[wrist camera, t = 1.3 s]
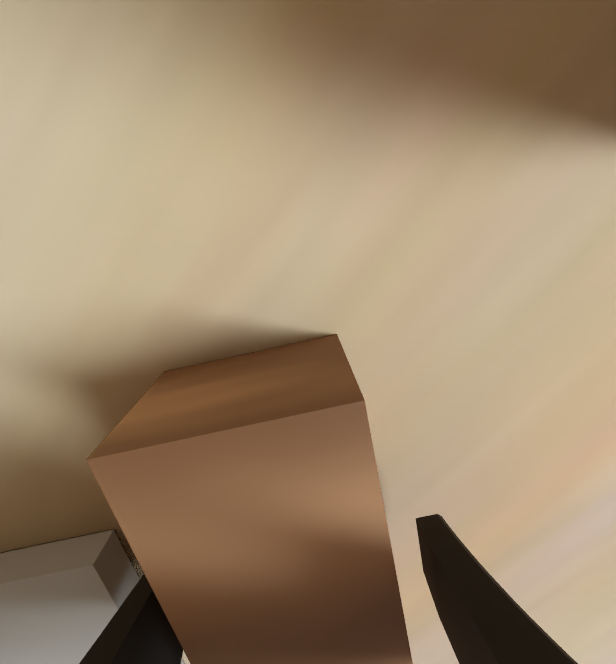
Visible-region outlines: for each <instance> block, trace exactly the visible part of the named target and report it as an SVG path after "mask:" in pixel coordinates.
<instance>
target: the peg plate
mask: <svg viewBox="0 0 616 664" xmlns="http://www.w3.org/2000/svg"><path fill="white" fill-rule="evenodd" d="M139 580H140V579H139V577H138V575H137V573H136V571H135V569H134V567H133V565H132V563H131V562H130V560H129V558H128V556H127V554H126V552H125V550H124V548H123V546H122V544H121V543H120V541H119V539H118V537H117V535H116V533H115V531H114V530H109V531H105V532H100V533H95V534H90V535H86V536H81V537H76V538H71V539H66V540H62V541H57V542H52V543H47V544H43V545H38V546H33V547H28V548H23V549H19V550H14V551H9V552H4V553H0V664H79V663H80V662H81V660H82V659H83V658H84V656H85V655H86V653H87V652H88V651H89V649H90V648H91V647H92V645H93V644H94V642H95V641H96V640H97V638H98V637H99V636H100V634H101V633H102V631H103V630H104V629H105V627H106V626H107V624H108V623H109V622H110V620H111V619H112V617H113V616H114V615H115V613H116V612H117V610H118V609H119V608H120V606H121V605H122V603H123V602H124V601H125V599H126V598H127V596H128V595H129V594H130V592H131V591H132V589H133V588H134V587H135V585H136V584H137V583H138V581H139ZM181 664H184V662H183V661H182V659H181Z"/></svg>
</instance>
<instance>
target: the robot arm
mask: <svg viewBox="0 0 616 664" xmlns="http://www.w3.org/2000/svg"><path fill="white" fill-rule="evenodd" d="M416 524H417V531H418V537H419V544H420V551H421V558H422V564H423V571H424V574H425V577H426V580H427V583H428V586H429V589H430V592H431V595H432V597H433V600H434V603H435V606H436V609H437V612H438V615H439V617H440V620H441V622H442V624H443V627H444V629H445V631H446V634H447V636H448V638H449V641H450V643H451V645H452V648H453V650H454V652H455V655H456V657H457V659H458V661H459V664H578V663H577V662H576V661H574V660H573V659H572V658H571V657H570V656H569V655H568V654H567V653H566V652H565V651H564V650H563V649H562V648H561V647H560V646H559V645H558V644H557V643H556V642H555V641H554V640H553V639H552V638H551V637H550V636H549V635H548V634H547V633H546V632H545V631H544V630H543V629H542V628H541V627H540V626H539V625H538V624H537V623H536V622H535V621H534V620H532V619H531V618H530V617H529V615H528V614H527V613H526V612H525V611H524V610H523V609H522V608H521V607H520V606H519V605H518V604H517V603H516V602H515V601H514V600H513V599H512V598H511V597H510V596H509V595H508V594H507V592H506V591H505V590H504V589H503V588H502V587H501V586H500V585H499V584H498V583H497V582H496V581H495V580H494V578H493V577H492V576H491V575H490V574H489V573H488V572H487V571H486V570H485V569H484V567H483V566H482V565H481V564H480V563H479V562H478V561H477V559H476V558H475V557H474V556H473V555H472V554H471V552H470V551H469V550H468V549H467V548H466V547H465V545H464V544H463V543H462V542H461V541H460V539H459V538H458V537H457V536H456V534H455V533H454V532H453V531H452V529H451V528H450V527H449V526H448V524H447V523H446V522H445V520H444V519H443V518H442V516H440V515H438V514H435V515H430V516H425V517H420V518H416ZM182 653H183V648H182V646H181V644H180V642H179V640H178V638H177V636H176V634H175V632H174V630H173V628H172V627H171V625H170V623H169V621H168V619H167V617H166V615H165V613H164V611H163V609H162V607H161V605H160V603H159V601H158V599H157V597H156V595H155V593H154V591H153V590H152V588H151V586H150V584H149V582H148V580H147V578H146V576H145V574H144V575H143V576H142V577H141V579H140V580H139V581H138V583H137V584H136V585H135V587H134V588H133V589H132V591H131V592H130V594H129V595H128V596H127V598H126V599H125V601H124V602H123V603H122V605H121V606H120V608H119V609H118V610H117V612H116V613H115V615H114V616H113V617H112V619H111V620H110V622H109V623H108V624H107V626H106V627H105V629H104V630H103V631H102V633H101V634H100V636H99V637H98V638H97V640H96V641H95V642H94V644H93V645H92V647H91V648H90V649H89V651H88V652H87V653H86V655H85V656H84V658H83V659H82V660H81V662H80V663H79V664H181V659H182Z"/></svg>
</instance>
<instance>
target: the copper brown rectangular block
mask: <svg viewBox="0 0 616 664" xmlns="http://www.w3.org/2000/svg"><path fill="white" fill-rule="evenodd" d="M86 461H87V463H88V465H89V467H90V469H91V471H92V473H93V475H94V477H95V479H96V481H97V482H98V484H99V486H100V488H101V490H102V492H103V494H104V496H105V498H106V500H107V502H108V504H109V506H110V508H111V510H112V512H113V514H114V516H115V518H116V519H117V521H118V523H119V525H120V527H121V529H122V531H123V533H124V535H125V537H126V539H127V541H128V543H129V545H130V547H131V549H132V551H133V553H134V554H135V556H136V558H137V560H138V562H139V564H140V566H141V568H142V570H143V572H144V574H145V576H146V578H147V580H148V582H149V584H150V586H151V588H152V590H153V591H154V593H155V595H156V597H157V599H158V601H159V603H160V605H161V607H162V609H163V611H164V613H165V615H166V617H167V619H168V621H169V623H170V625H171V627H172V628H173V630H174V632H175V634H176V636H177V638H178V640H179V642H180V644H181V646H182V648H183V650H184V652H185V654H186V656H187V658H188V660H189V662H190V663H191V664H413V663H412V658H411V652H410V647H409V641H408V636H407V630H406V625H405V619H404V614H403V608H402V603H401V598H400V592H399V587H398V581H397V576H396V570H395V565H394V559H393V554H392V548H391V543H390V537H389V532H388V526H387V521H386V516H385V510H384V505H383V499H382V494H381V488H380V483H379V477H378V472H377V466H376V461H375V455H374V450H373V444H372V439H371V434H370V428H369V423H368V417H367V412H366V406H365V401H364V398H363V396H362V393H361V391H360V389H359V386H358V384H357V381H356V379H355V377H354V374H353V372H352V369H351V367H350V365H349V362H348V360H347V357H346V355H345V353H344V350H343V348H342V346H341V343H340V341H339V338H338V336H337V334H335V335H330V336H326V337H321V338H316V339H312V340H307V341H303V342H298V343H294V344H289V345H284V346H280V347H275V348H271V349H266V350H262V351H257V352H252V353H248V354H243V355H239V356H234V357H229V358H225V359H220V360H216V361H211V362H207V363H202V364H197V365H193V366H188V367H184V368H179V369H174V370H170V371H165V372H164V373H163V374H162V375H161V376H160V377H159V378H158V380H157V381H156V382H155V383H154V384H153V385H152V386H151V387H150V389H149V390H148V391H147V392H146V393H145V394H144V395H143V396H142V398H141V399H140V400H139V401H138V402H137V403H136V404H135V405H134V407H133V408H132V409H131V410H130V411H129V412H128V413H127V414H126V416H125V417H124V418H123V419H122V420H121V421H120V422H119V423H118V425H117V426H116V427H115V428H114V429H113V430H112V431H111V432H110V434H109V435H108V436H107V437H106V438H105V439H104V440H103V441H102V443H101V444H100V445H99V446H98V447H97V448H96V449H95V451H94V452H93V453H92V454H91V455H90V456H89V457H88V458H87V460H86Z"/></svg>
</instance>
